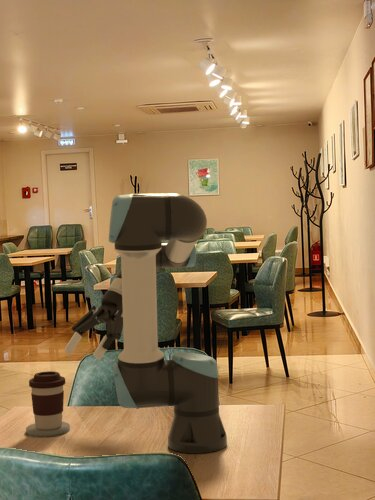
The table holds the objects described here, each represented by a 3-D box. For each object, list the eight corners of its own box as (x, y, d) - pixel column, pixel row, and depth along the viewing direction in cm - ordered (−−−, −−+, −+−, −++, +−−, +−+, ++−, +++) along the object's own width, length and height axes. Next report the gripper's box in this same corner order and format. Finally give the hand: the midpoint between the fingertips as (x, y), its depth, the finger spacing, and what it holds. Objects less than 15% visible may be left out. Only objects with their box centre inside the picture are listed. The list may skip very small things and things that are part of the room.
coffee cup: (70, 421, 209) (68, 369, 208) (61, 432, 199) (59, 377, 198) (36, 422, 209) (34, 370, 209) (26, 432, 200) (24, 377, 199)
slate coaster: (75, 433, 202) (75, 428, 201) (32, 440, 196) (32, 435, 196) (62, 422, 212) (62, 418, 212) (21, 429, 207) (21, 424, 207)
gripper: (153, 306, 215) (117, 367, 205) (98, 301, 232) (63, 357, 222) (138, 291, 211) (101, 352, 201) (84, 287, 228) (48, 343, 218)
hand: (81, 355), depth 212 cm, fingers open, 13 cm apart
